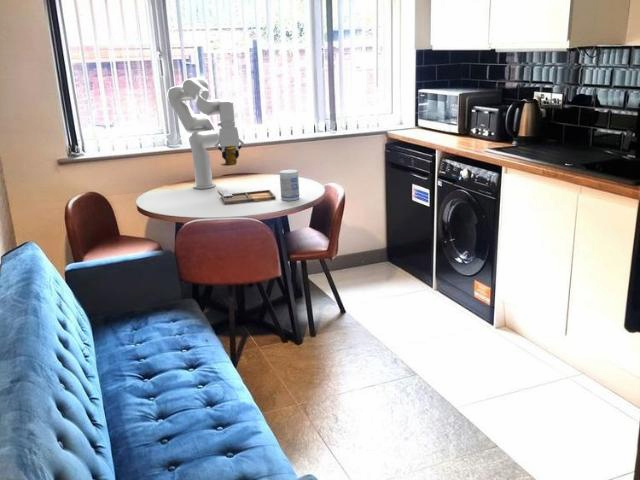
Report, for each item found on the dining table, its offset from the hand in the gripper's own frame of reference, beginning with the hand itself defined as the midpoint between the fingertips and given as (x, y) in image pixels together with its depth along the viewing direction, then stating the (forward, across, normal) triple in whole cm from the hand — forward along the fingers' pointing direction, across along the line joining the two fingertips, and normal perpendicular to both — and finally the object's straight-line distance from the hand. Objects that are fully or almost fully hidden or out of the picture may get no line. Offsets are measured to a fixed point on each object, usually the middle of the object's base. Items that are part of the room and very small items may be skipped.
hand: (230, 158), depth 316 cm
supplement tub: (+20, +26, -23) cm, 40 cm away
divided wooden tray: (+20, +6, -13) cm, 24 cm away
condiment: (+4, -1, 0) cm, 4 cm away
